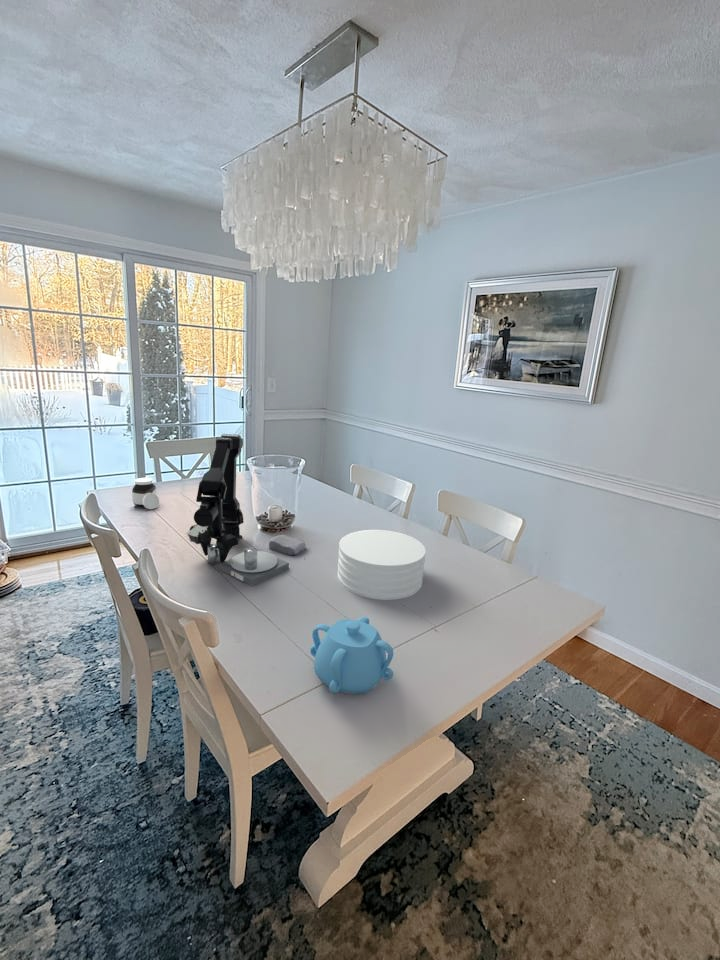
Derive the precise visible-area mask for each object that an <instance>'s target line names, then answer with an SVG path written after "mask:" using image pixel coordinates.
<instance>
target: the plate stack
mask: <svg viewBox="0 0 720 960" xmlns="http://www.w3.org/2000/svg"><path fill="white" fill-rule="evenodd" d="M426 552H427V551H426V547H425V546H424V544H423V543H422V542H421V541H419V540H418V539H416V538H415V537H413V536H411V535H409V534H405V533H402V532H398V531H393V530H385V529H363V530H362V529H361V530H358V531H352V532H351V533H347V534H346V535H344V536H343V537H342V538H341V539H340V540H339V543H338V557H337V558H338V560H337V580H338V582H339V583H340V585H341V586H342V587H343V588H344V589H345V590H347V591H349V592H351V593H353V594H355V595H357V596H361V597H363V598H368V599H373V600H383V601H386V600H387V601H391V600H399V599H405V598H408V597H412V596H413V595H415V594H416V593H417V592H419V590H420V589H421V588H422V585H423V579H424V578H423V577H424V570H425V562H426Z"/></svg>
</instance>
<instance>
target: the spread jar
mask: <svg viewBox="0 0 720 960" xmlns="http://www.w3.org/2000/svg"><path fill="white" fill-rule="evenodd" d="M134 483H135V484H134V486H133V487H132V490H131V497H132V503H133V504H134V506H136V507H137V508H146V509H147V510H154V509H156V508H158V506H159V504H160V499H159V497H158V495H157V493H158V492H157V487H156V485H155V483H154V482H153V478H150V477H140V478H136V479H135V480H134Z"/></svg>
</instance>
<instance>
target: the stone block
mask: <svg viewBox="0 0 720 960" xmlns="http://www.w3.org/2000/svg"><path fill="white" fill-rule="evenodd" d="M268 548H269V549H270V550H272V551H275V552H279V553H282V554H285V555H288V556H296V555H298V554H299V553H300V552H302V551H304V550H305V549H306V542H305V540H304V539H303V540H302V539H299V538H293V537H291V536H288V535H285V534H280V535H276V536H273V537H272V538H270V540H269V541H268Z"/></svg>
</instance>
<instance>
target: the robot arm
mask: <svg viewBox="0 0 720 960" xmlns="http://www.w3.org/2000/svg"><path fill="white" fill-rule="evenodd" d="M243 446H244V439H243V438H242V437H241V435H240V434H233V433H232V434H230V433H229V434H227V433H222V434H221V435H220V436H217V437H216V439H215V450H214V451H213V452H214V453H213V456H212V460H211V463H210V467H209V469H208V470H207V471H206V472H205V473H203V476H202V479H200V481H199V483H198V484H199V485H198V488H197V489H198V490H197V493H196V499H195V500H196V503H200V505H199V508H198V509H197V510H196V511H195V512H194V513H193V514H194V515H193V521H194V523H195V524H194V525H191V526H190V527H189V531H187V536H188V538H189V541H190V542H191V543H192V542H193V543H195V544H196V545H199V544H200V546H201V548H202V551H203V554H204V556H205V557H206V556H207V557H208V545H210V544H212V539H214V540H216V542H215V544H216V545H217V546H216V548H217V549H218V550H219V556H220V563H222V562H224V561H226V559H227V557H228V555H229V554H230V551H231V550H232V548H233V547H236V546H239V544H240V543H239V539H242V538H243V535H242V534H241V532H240V525H242V524H244V514H243V511H242V509H241V505H240V502H239V500H238V499H237V497H236V496H237V495H236V493H237V492H236V491H237V461H238V457H239V456H240V454H241V452H242V448H244V447H243Z"/></svg>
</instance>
